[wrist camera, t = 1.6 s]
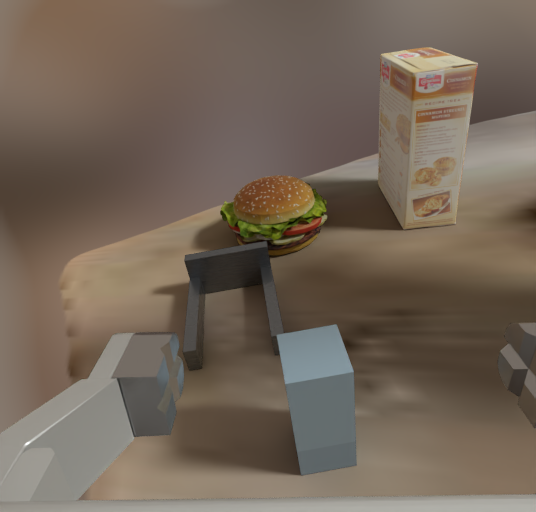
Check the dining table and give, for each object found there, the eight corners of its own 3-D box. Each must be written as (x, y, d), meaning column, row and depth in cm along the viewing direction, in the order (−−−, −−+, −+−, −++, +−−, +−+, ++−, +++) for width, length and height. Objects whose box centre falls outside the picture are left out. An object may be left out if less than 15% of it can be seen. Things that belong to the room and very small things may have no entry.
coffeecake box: (457, 225, 52) (480, 62, 42) (401, 231, 53) (410, 72, 42) (421, 179, 65) (432, 45, 54) (376, 185, 65) (378, 53, 55)
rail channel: (272, 275, 49) (266, 241, 46) (287, 353, 38) (280, 313, 35) (195, 289, 48) (185, 255, 46) (189, 370, 38) (175, 332, 35)
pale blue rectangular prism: (341, 416, 32) (336, 324, 26) (356, 465, 28) (353, 371, 23) (292, 425, 32) (276, 334, 26) (301, 475, 28) (285, 384, 23)
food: (299, 201, 64) (294, 153, 60) (344, 241, 53) (342, 185, 49) (217, 226, 61) (206, 177, 57) (246, 274, 50) (234, 217, 45)
